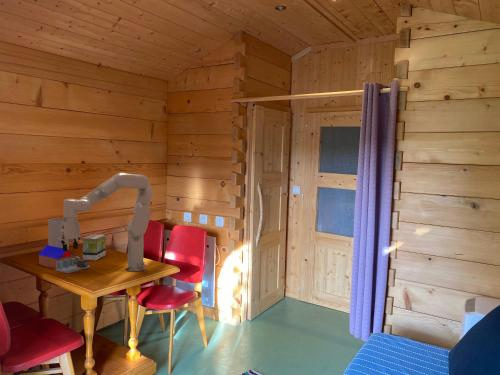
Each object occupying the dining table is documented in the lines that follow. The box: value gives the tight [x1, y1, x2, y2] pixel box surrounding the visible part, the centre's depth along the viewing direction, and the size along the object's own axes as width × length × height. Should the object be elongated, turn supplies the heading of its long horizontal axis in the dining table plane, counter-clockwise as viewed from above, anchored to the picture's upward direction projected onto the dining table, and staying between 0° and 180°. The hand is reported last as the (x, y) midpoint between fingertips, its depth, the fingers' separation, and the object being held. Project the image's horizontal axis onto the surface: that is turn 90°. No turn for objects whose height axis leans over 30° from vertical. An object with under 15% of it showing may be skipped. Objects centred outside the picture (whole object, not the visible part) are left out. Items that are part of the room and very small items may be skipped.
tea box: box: [82, 234, 107, 261], centre depth 267 cm, size 15×10×15 cm, turn 179°
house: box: [38, 244, 76, 269], centre depth 246 cm, size 12×20×12 cm, turn 61°
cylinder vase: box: [47, 217, 70, 251], centre depth 270 cm, size 12×12×25 cm
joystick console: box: [55, 256, 91, 274], centre depth 239 cm, size 11×16×5 cm
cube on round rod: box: [75, 258, 89, 268], centre depth 241 cm, size 10×4×4 cm, turn 61°
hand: (70, 249), depth 233 cm, fingers open, 6 cm apart
